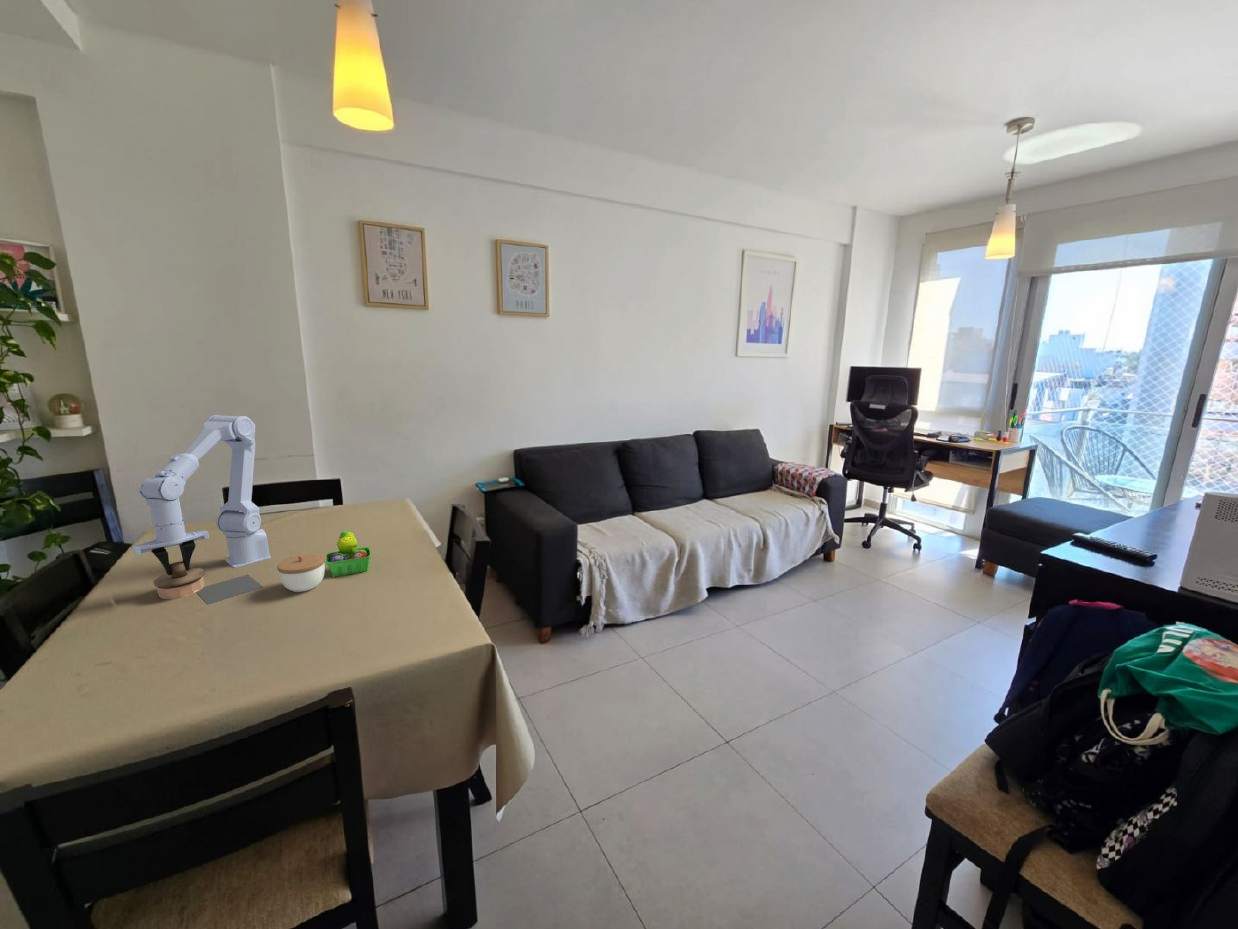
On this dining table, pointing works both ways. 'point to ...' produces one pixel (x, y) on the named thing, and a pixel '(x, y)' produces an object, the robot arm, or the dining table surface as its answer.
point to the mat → (228, 589)
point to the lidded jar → (302, 572)
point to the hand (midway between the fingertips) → (178, 571)
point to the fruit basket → (348, 556)
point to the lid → (179, 575)
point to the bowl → (181, 589)
